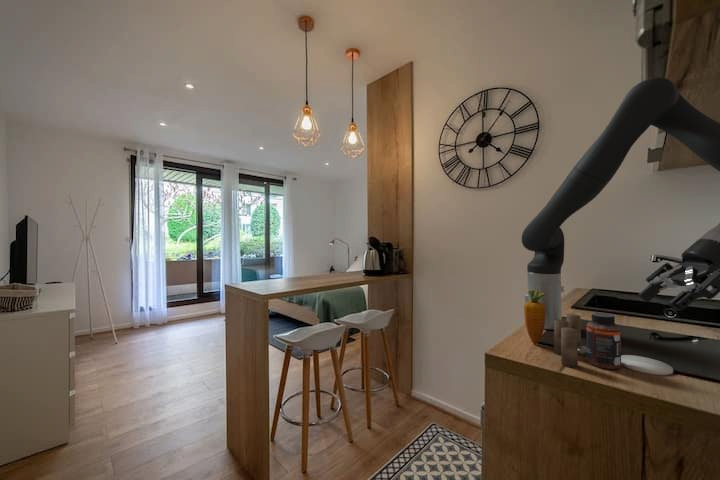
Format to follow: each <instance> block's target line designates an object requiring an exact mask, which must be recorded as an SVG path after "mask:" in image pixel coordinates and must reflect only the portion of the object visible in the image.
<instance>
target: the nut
mask: <svg viewBox="0 0 720 480" xmlns="http://www.w3.org/2000/svg"><path fill="white" fill-rule="evenodd" d="M578 356H583V357H587V346H585V345H584V346H583V345H581V346H578Z"/></svg>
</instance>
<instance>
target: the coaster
mask: <svg viewBox="0 0 720 480" xmlns="http://www.w3.org/2000/svg"><path fill="white" fill-rule="evenodd" d="M621 367H624V368H626V369H629V370H631V371H632V370H633V371H635V372H638V373H643V374H648V375H654V376H670V375H673V374H674V369H673V367H672V366H671V365H669V364H667V363H665V362H664V361H660V360H657V359H653V358H651V357H650V358H649V357H646V356H639V355H634V354H633V355H631V354H623V355H622V354H621Z"/></svg>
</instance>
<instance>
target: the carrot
mask: <svg viewBox="0 0 720 480" xmlns="http://www.w3.org/2000/svg"><path fill="white" fill-rule="evenodd" d="M538 293H539V290H537V291H536V294H535V297H534V289H531V290H530V291H529V294H530V297H531V301H530V302H526V303H525V302H524V304H523V313H524V315H523V316H524V322H525V323H524V324H525V328H526V332H527V334H528V336H529V338H530V340H531V342H532V344H534V345H537V344H538V343H539V342H540V340H541V338H542V335H543V333H544V330H545V329H544V325H545V306H544V305H543V304H542V303H540V302H538V300H539V299H540V298H541V297H542V296H544V295H545V294H544V293H542V294H540V295H539V296H538Z"/></svg>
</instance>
